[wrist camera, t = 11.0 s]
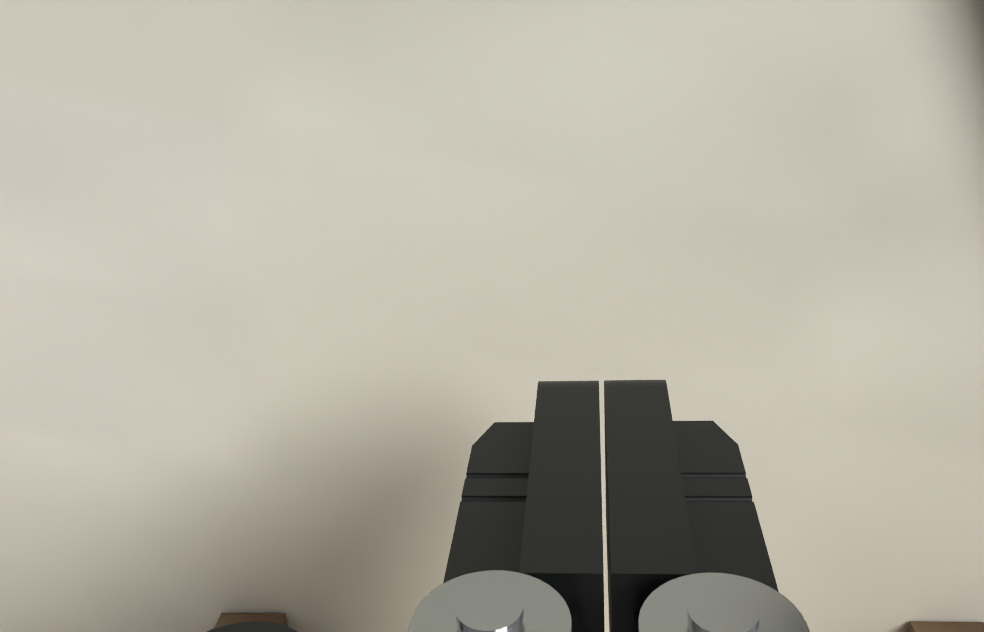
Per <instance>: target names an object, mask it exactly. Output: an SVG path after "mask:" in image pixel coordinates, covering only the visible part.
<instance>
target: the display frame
mask: <svg viewBox="0 0 984 632" xmlns="http://www.w3.org/2000/svg"><path fill="white" fill-rule="evenodd" d="M251 621H261V622H271V623H276V624H281V625H284V626H287V627H288V625H287V619H286V614H258V613H222V614H221V616H220V618H219V620H218V622H217V624H216V626H215V628H218V627H222V626H225V625H229V624H235V623H240V622H251ZM215 628H214V629H215ZM909 632H984V622H910V626H909Z"/></svg>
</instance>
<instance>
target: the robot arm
mask: <svg viewBox="0 0 984 632" xmlns="http://www.w3.org/2000/svg"><path fill="white" fill-rule="evenodd" d="M604 408H605V474H606V529H607V564H608V597H609V629H610V632H810V630H809V628H808V626H807V623H806V621H805V620H804V618H803V616H802V614H801V613H800V612H799V610H798V609H797V608H796V607H795V605H794V604H793V603H792V602H790V601H789V600H788V599H787V598H786V597H785V596H783V595H782V594H780V593H779V592H778V588H777V584H776V581H775V577H774V573H773V570H772V566H771V563H770V559H769V555H768V552H767V548H766V545H765V541H764V537H763V534H762V530H761V526H760V523H759V519H758V516H757V512H756V508H755V505H754V502H752V494H751V490H750V487H749V483H748V479H747V478H746V472H745V469H744V465H743V461H742V458H741V454H740V450H739V447H738V444H737V443H736V442H735V441H734V440H732V439H731V438H730V437H729V436H728V435H727V434H726V433H725V432H724V431H723V430H722V429H721V428H720V427H719V426H718V425H717V424H716V423H715V422H713V421H672V415H671V408H670V402H669V396H668V390H667V384H666V380H611V381H604ZM466 474H467V478H466V479H465V482H464V487H463V492H462V502H460V506H459V511H458V516H457V521H456V525H455V530H454V535H453V540H452V544H451V549H450V554H449V559H448V563H447V568H446V573H445V578H444V582H443V584H441V585H440V586H438V587H437V588H435V589H434V590H432V591H431V592H430V593H429V594H428V595H427V596H426V597H425V598H424V599H423V600H422V601H421V602H420V604H419V605H418V606H417V608H416V610H415V612H414V614H413V616H412V618H411V621H410V624H409V627H408V630H407V632H604V581H603V537H602V495H601V454H600V412H599V381H539V382H538V389H537V399H536V408H535V418H534V422H497V423H494V424H493V425H492V426H491V427H490V428H489V429H488V430H487V431H486V432H485V433H484V434H483V435H482V436H481V437H480V438H479V439H478V440H477V441H476V442H475V444H474V445H473V446H472V449H471V454H470V459H469V463H468V468H467V473H466ZM207 632H297V631H295V630H293V629H292V628H289V627H287V626H284V625H281V624H276V623H271V622H261V621H251V622H240V623H235V624H229V625H225V626H222V627H218V628H215V629H212V630H210V631H207Z"/></svg>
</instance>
